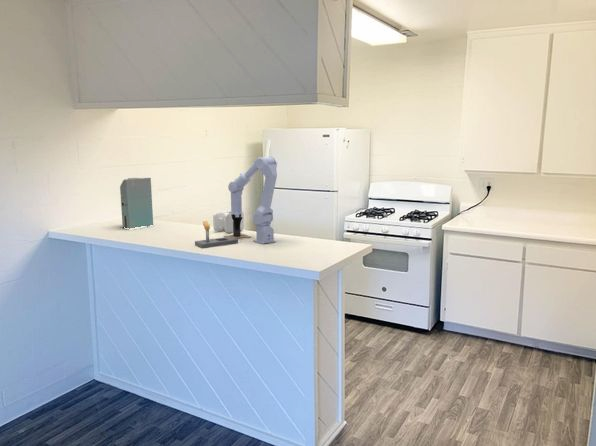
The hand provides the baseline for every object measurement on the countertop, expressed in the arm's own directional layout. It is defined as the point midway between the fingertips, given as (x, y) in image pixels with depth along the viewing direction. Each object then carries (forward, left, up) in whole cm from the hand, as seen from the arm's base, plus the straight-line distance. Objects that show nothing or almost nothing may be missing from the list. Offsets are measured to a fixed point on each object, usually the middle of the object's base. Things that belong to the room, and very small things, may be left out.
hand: (236, 228), depth 268 cm
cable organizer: (+18, -4, -5) cm, 19 cm away
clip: (-5, +20, +4) cm, 21 cm away
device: (+62, +35, -5) cm, 71 cm away
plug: (0, 0, -4) cm, 4 cm away
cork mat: (0, 0, -5) cm, 5 cm away
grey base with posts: (-10, +17, -5) cm, 20 cm away
